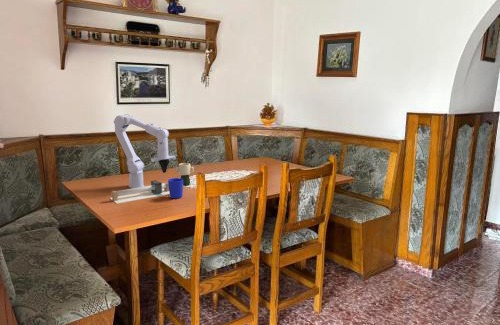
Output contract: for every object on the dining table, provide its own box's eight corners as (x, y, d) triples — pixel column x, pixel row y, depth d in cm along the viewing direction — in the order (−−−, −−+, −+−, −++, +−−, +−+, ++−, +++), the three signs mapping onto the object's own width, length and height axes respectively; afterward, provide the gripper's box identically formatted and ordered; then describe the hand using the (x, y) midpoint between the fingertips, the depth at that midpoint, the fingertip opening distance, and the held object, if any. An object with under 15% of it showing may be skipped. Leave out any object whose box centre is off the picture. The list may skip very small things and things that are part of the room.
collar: (151, 190, 230) (150, 181, 229) (156, 190, 232) (155, 180, 230) (157, 194, 224) (156, 183, 222) (162, 193, 225) (161, 183, 224)
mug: (183, 193, 229) (182, 176, 227) (184, 199, 217) (183, 181, 215) (168, 193, 227) (167, 176, 225) (168, 200, 215) (168, 182, 213)
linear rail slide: (109, 198, 218) (108, 189, 217) (164, 189, 237) (163, 180, 236) (116, 203, 209) (116, 194, 208) (173, 193, 227) (172, 184, 226)
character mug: (195, 183, 250) (194, 162, 248) (193, 186, 243) (192, 165, 241) (177, 183, 251) (177, 162, 248) (175, 186, 244) (174, 165, 241)
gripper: (154, 151, 226) (155, 175, 229) (177, 149, 234) (178, 171, 237) (149, 150, 232) (150, 173, 234) (172, 147, 240) (173, 169, 243)
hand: (164, 172), depth 236 cm, fingers closed
